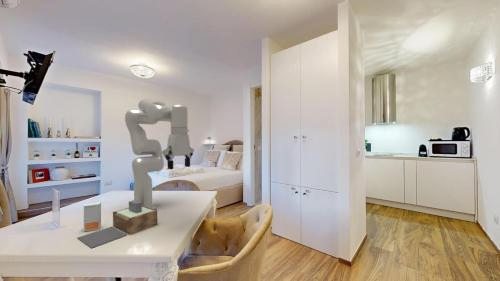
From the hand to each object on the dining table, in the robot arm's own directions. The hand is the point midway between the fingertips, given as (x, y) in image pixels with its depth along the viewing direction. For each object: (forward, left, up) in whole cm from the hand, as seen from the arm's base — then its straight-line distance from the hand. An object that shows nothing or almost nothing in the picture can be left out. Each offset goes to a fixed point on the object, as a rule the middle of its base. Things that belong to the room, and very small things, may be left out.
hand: (179, 167), depth 98 cm
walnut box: (-20, -10, -28) cm, 36 cm away
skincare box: (-33, -23, -29) cm, 50 cm away
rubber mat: (-20, -24, -28) cm, 42 cm away
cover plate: (-20, -10, -22) cm, 32 cm away
